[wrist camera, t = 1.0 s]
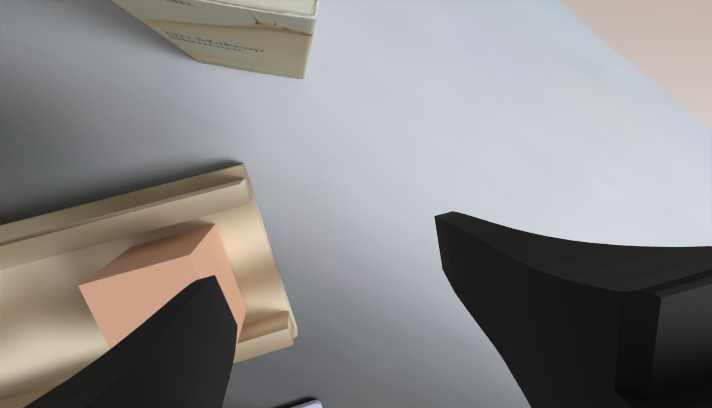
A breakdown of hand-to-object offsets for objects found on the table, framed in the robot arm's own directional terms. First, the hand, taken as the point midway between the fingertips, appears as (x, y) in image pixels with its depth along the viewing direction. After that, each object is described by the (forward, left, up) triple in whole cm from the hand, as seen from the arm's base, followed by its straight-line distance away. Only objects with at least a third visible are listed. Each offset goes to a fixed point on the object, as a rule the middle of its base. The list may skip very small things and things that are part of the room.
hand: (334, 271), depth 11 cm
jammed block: (-3, +9, -11) cm, 14 cm away
